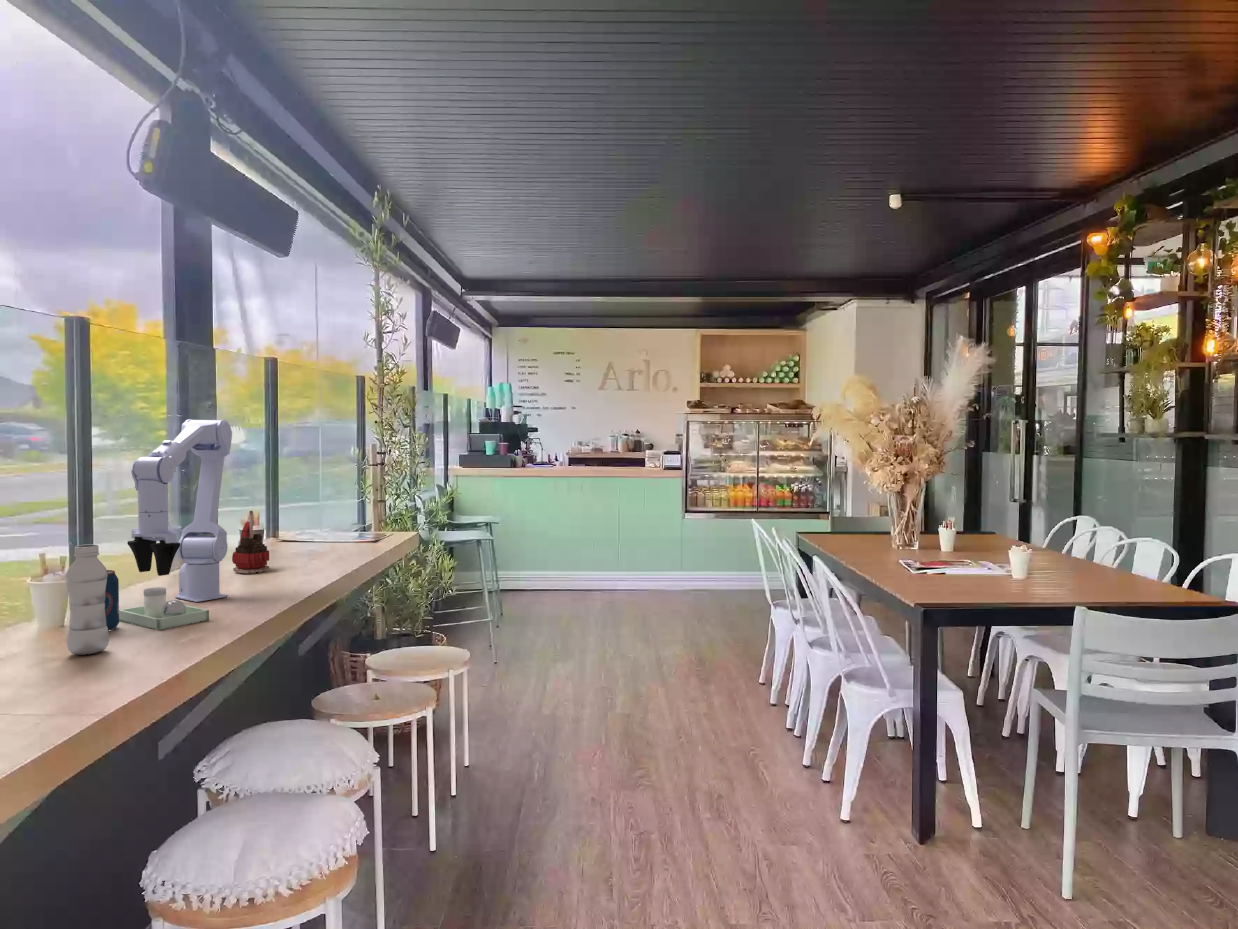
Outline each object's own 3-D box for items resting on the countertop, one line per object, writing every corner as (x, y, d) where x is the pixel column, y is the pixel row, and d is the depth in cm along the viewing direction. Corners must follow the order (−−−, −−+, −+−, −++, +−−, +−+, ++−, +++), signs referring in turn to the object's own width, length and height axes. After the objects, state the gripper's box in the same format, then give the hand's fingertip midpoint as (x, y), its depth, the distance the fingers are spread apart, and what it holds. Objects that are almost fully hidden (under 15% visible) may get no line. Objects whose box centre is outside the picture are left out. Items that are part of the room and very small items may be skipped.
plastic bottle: (118, 650, 151) (116, 544, 150) (83, 660, 144) (81, 549, 144) (92, 647, 153) (91, 542, 152) (57, 656, 147) (56, 547, 146)
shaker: (140, 616, 177) (139, 589, 176) (160, 613, 180) (159, 586, 180) (149, 619, 174) (149, 592, 174) (170, 616, 178) (169, 589, 178)
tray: (117, 620, 175) (117, 610, 175) (168, 610, 184) (168, 601, 184) (158, 630, 166) (157, 619, 166) (209, 620, 176) (208, 610, 176)
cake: (258, 575, 230) (258, 512, 230) (226, 575, 230) (226, 512, 230) (275, 569, 241) (275, 509, 240) (244, 568, 241) (244, 508, 240)
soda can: (77, 635, 161) (76, 576, 161) (81, 628, 168) (80, 570, 167) (117, 632, 165) (116, 573, 164) (120, 624, 171) (119, 568, 170)
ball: (159, 624, 172) (155, 603, 172) (180, 618, 176) (177, 598, 176) (170, 624, 170) (166, 602, 170) (192, 618, 174) (188, 597, 173)
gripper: (116, 510, 177) (117, 572, 177) (152, 515, 169) (153, 579, 170) (149, 508, 183) (150, 568, 183) (185, 512, 175) (186, 574, 176)
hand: (154, 573), depth 177 cm, fingers open, 7 cm apart
